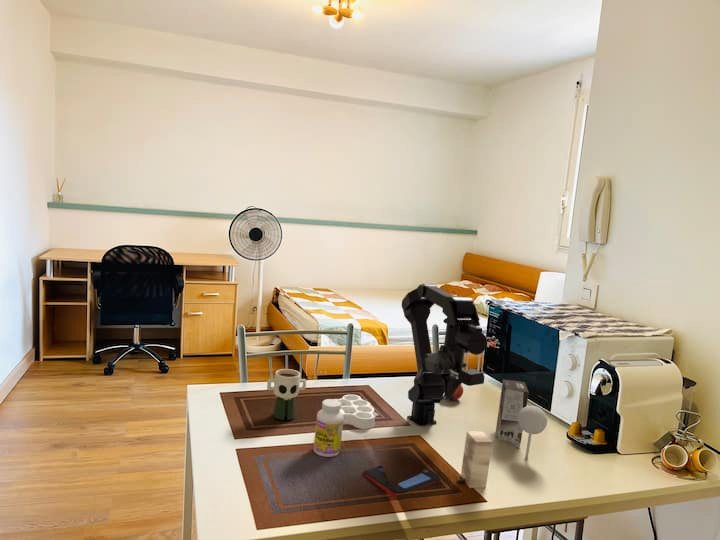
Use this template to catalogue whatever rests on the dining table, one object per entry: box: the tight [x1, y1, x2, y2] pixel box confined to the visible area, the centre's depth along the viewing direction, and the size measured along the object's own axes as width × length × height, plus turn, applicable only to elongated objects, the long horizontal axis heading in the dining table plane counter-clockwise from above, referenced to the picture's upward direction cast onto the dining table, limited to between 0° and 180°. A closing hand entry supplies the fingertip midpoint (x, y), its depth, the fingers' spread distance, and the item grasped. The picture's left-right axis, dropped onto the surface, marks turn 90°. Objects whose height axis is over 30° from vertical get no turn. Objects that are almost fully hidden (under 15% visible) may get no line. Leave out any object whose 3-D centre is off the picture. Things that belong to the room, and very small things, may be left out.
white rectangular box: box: [456, 431, 494, 489], centre depth 117 cm, size 5×6×11 cm
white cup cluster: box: [333, 394, 379, 430], centre depth 151 cm, size 3×18×15 cm
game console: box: [362, 465, 441, 499], centre depth 119 cm, size 14×13×2 cm
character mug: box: [266, 368, 307, 421], centre depth 144 cm, size 11×7×13 cm, turn 106°
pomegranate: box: [442, 383, 464, 401], centre depth 173 cm, size 7×7×10 cm
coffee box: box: [495, 379, 530, 448], centre depth 145 cm, size 9×6×16 cm
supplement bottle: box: [313, 398, 344, 458], centre depth 127 cm, size 7×7×13 cm
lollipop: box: [518, 405, 548, 460], centre depth 133 cm, size 7×7×15 cm
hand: (447, 398), depth 140 cm, fingers closed
